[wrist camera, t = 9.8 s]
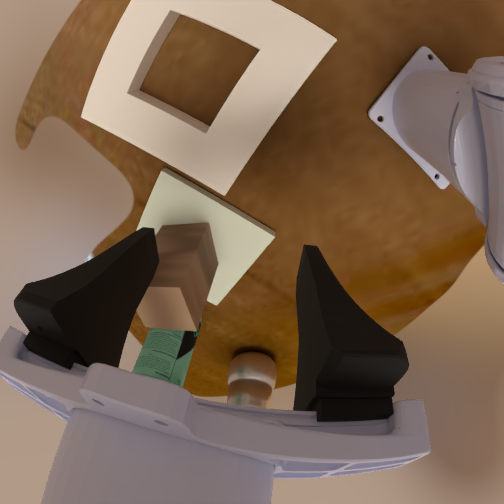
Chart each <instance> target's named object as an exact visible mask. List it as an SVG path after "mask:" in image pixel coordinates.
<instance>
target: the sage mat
mask: <svg viewBox="0 0 504 504" xmlns="http://www.w3.org/2000/svg"><path fill="white" fill-rule="evenodd" d="M192 223H209V224H210V229H211V233H212V238H213V242H214V246H215V251H216V255H217V259H218V267H217V270H216V273H215V276H214V279H213V282H212V286H211V289H210V292H209V295H208V298H207V301H209V302H210V303H212V304H214V305H216V306H217V305H218V304H219V302H220V301H221V300H222V299H223V298H224V297H225V295H226V294H227V293H228V292H229V291H230V290H231V288H232V287H233V286H234V285H235V284H236V283H237V281H238V280H239V279H240V278H241V277H242V275H243V274H244V273H245V272H246V271H247V270H248V268H249V267H250V266H251V265H252V264H253V263H254V261H255V260H256V259H257V258H258V257H259V255H260V254H261V253H262V252H263V251H264V250H265V248H266V247H267V246H268V245H269V244H270V242H271V241H272V240H273V239H274V238H275V233H276V232H275V231H273V230H272V229H270V228H268V227H267V226H265V225H263V224H262V223H260V222H258V221H257V220H255V219H253V218H252V217H250V216H248V215H247V214H245V213H243V212H242V211H240V210H238V209H237V208H235V207H233V206H232V205H230V204H228V203H227V202H225V201H223V200H221V199H220V198H218V197H216V196H215V195H213V194H211V193H209V192H208V191H206V190H204V189H202V188H201V187H199V186H197V185H195V184H194V183H192V182H190V181H189V180H187V179H185V178H183V177H181V176H180V175H178V174H176V173H174V172H173V171H171V170H169V169H167V168H166V167H165V168H164V169H163V170H161V172H160V175H159V177H158V179H157V181H156V184H155V186H154V188H153V191H152V193H151V195H150V198H149V200H148V202H147V205H146V207H145V210H144V212H143V215H142V217H141V220H140V222H139V225H138V228H137V230H139V229H141V228H142V227H148V228H154V230H155V235H156V234H157V232H158V231H159V230H160V228H161V227H162V225H175V224H192ZM137 230H136V231H137Z"/></svg>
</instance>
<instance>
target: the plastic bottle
mask: <svg viewBox="0 0 504 504" xmlns="http://www.w3.org/2000/svg"><path fill="white" fill-rule="evenodd" d="M276 378H277V370H276V364H275V363H274V361H273V360H272V359H271V357H269V356H268V355H266V354H263V353H259V352H244V353H241V354H239V355H237V356H236V357H235V358H234V359H233V360H232V362H231V364H230V367H229V369H228V398H227V404H234V405H241V406H249V407H257V408H267V409H269V408H270V403H271V397H272V392H273V389H274V386H275V383H276Z"/></svg>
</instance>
